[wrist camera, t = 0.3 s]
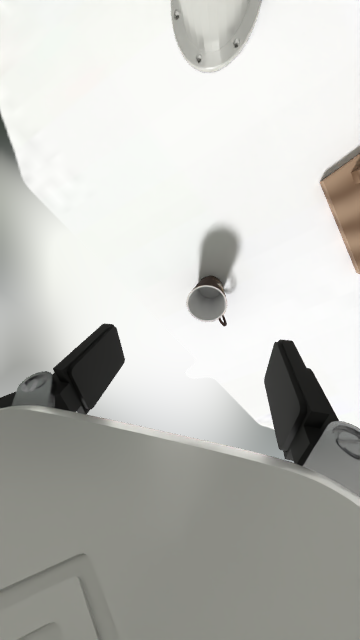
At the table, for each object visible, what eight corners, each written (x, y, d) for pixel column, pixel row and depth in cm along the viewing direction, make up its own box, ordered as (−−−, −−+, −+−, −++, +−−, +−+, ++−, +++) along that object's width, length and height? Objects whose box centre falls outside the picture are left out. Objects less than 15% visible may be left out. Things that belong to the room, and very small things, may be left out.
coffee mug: (191, 274, 46) (183, 287, 37) (225, 269, 43) (225, 282, 35) (198, 313, 51) (192, 333, 43) (229, 311, 49) (229, 331, 40)
